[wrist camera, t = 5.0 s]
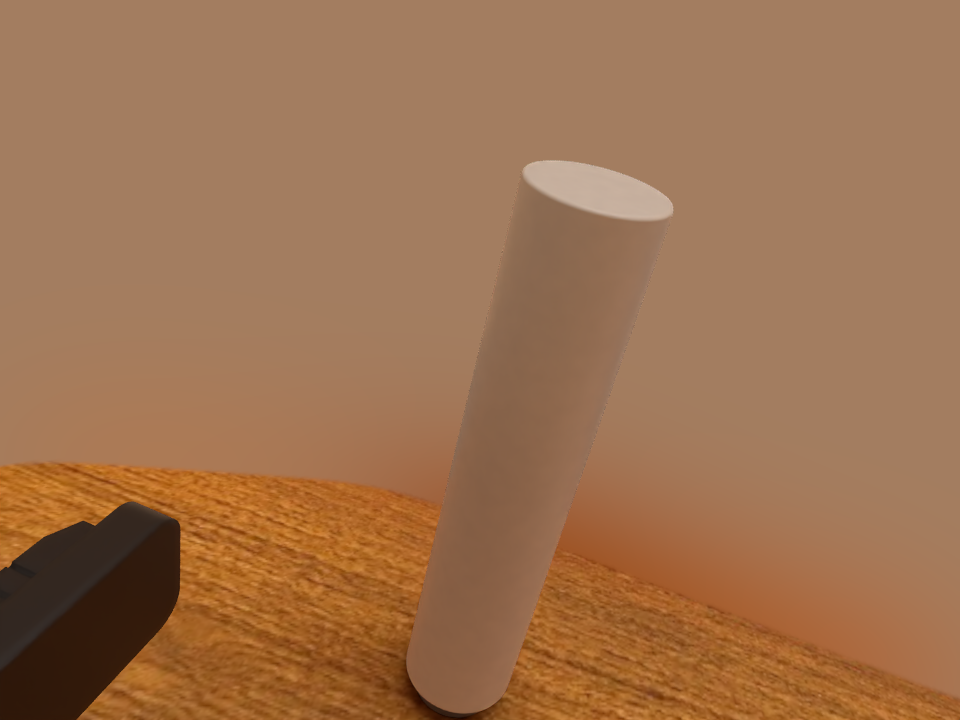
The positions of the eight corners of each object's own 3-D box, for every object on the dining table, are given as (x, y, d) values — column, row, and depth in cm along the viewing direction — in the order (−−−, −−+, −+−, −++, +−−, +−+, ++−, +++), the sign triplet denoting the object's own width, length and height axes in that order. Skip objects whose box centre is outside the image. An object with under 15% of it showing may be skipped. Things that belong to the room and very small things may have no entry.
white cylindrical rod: (432, 747, 18) (585, 218, 11) (384, 657, 19) (493, 156, 13) (523, 706, 19) (707, 216, 13) (471, 626, 21) (608, 160, 14)
